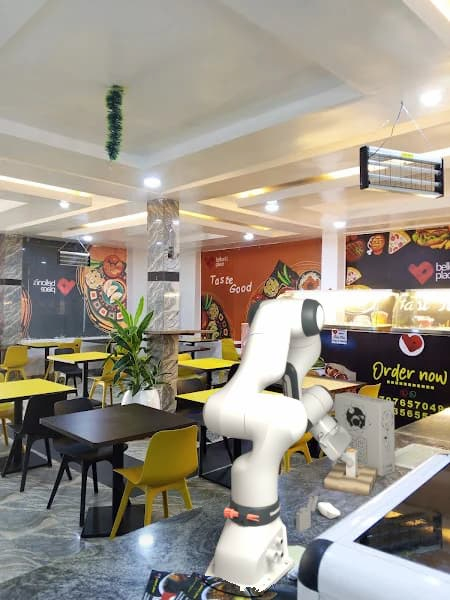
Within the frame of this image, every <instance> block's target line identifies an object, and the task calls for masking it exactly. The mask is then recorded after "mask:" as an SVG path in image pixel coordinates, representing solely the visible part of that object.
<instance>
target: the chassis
mask: <svg viewBox="0 0 450 600" xmlns="http://www.w3.org/2000/svg"><path fill="white" fill-rule="evenodd" d="M335 462H336V461H335ZM357 469H358V474H357V476H356V477H351V476H346V463H344V462H341V461H340V462H339V461H337V462H336V463H335V464H334V465H333V466H332V467H331V470H330V471H329V472H328V474H327V475H326V477H325V478H324V482H323V483H324V490H329V491H335V492H343V493H348V494H354V495H355V494H356V495H361V496H367V497H370V495H371V493H372V491H373V489H374V486H375V484H376V482H377V479H378V477H379V476H378V468H377V467H370V466H362V465H357Z"/></svg>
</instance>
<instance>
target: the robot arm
mask: <svg viewBox="0 0 450 600" xmlns="http://www.w3.org/2000/svg"><path fill="white" fill-rule="evenodd" d="M325 322H326V315H325V310H324V307H323V305H322V304H321V303H320V302H319V301H318V300H316V299H314V298H305V299H304V298H286V297H282V298H272V299H259V300H257V301H254V302H253V303H252V304H251V305H250V307H249V308H248V311H247V324H248V327H249V329H248V332H247V336H246V337H247V338H246V341H245V346H244V351H243V353H242V356H241V360H240V363H239V365H238V368H237V370H236V372H235V373H234V374H233V376H232V377H231V378H230V380H229V381H228V382H227V383H226V384H225V385H223V387H221V388H220V389H219V390H217V391H215V392H213V393H211V395H209V397H207V399H206V401H204V402H205V403H204V405H203V409H202V418H203V422H204V425H205V427H206V429H207V430H208V431H210V432H212V433H215V434H216V435H220V436H223V437H227V438H234V439H241V440H250V441H251V442H252V450H251V451H248V452H246V453H244V454H241V455H240V456H239V457H237V458H235V460H234V461H233V462H232V466H231V469H230V471H231V473H230V474H231V475H230V476H231V477H230V479H231V480H230V481H231V484H230V485H231V489H230V490H231V495H230V497H229V502H228V506H227V507H225V508H224V511H223V516H224V518H227V519H226V521H225V524H224V526H223V528H222V531H221V534H220V537H219V539H218V542H217V544H216V548H215V551H214V556H213V558H212V559H211V561H210V563H209V565H208V567H207V569H206V570H205V573H204V575H205V576H216V577H220V578H222V579H223V580H226V581H228V582H230V583H233V584H236V585H238V586H240V591H245V590H244V589H245V588H246V587H251V588H253V587H255V588H256V590H258V589H259V591H258V592H261V591H263V590H265V589H266V588H268V587H269V586H271V585H273V584H274V585H275V584H276V583H277V582H279V580H281V579H282V578H283V577H284V576H285V575H286V574H287V573H288V572H289V571H290V570H291V569H292V568H293V567H294V566H295V561H294V559H293V558H292V557H291V556H290V555H289V550H288V537H287V536H288V535H287V527H286V525H285V524H284V522H283V521H282V519H281V516H280V515H281V499H280V496H279V489H278V488H279V486H278V485H279V472H280V465H281V461H282V459H283V456H284V455H285V453H286V452H287V451H288V449H290V447H291V446H293V445H294V444H296V443H297V442H299V441H300V440H301V438H303V436H304V435H305V434H308V433H310V434H311V435H312V437H313V438H314V439H315V440H316V441H317V442H318V445H319V447H320V449H321V450H322V451H323V453H324V454H325V455H326V457H328V459H329V460H330V461H332V462H336V461H338V460H337V459H338V458H340V459H341V460H343V461H344V462H346V463H347V464H348V465H349V466H351V465H352V464H353V463H354V461H353V460H352V459H351V458H349V457H348V456H347V455H346V453H345V452H346V451H347V450H348V449H349V448H351V447H350V446H349V444H350V442H351V441H352V439H351V437H350V435H349V434H348V433H347V431H346V430H345V429H344V428H343V427H342V426H341V425H340V424H338V423H339V421H338V420H337V418H335V416H334V417H333V416H330V415H329V414H328V412H330V410H331V409H332V407H333V406H335V398H334V395H333V394H332V392H331V391H330V389H328V388H327V387H326V386H324V385H322V384H314V385H312V386H310V387H307V388H305V387H304V388H303V387H302V386H303V381H304V379H305V378H306V376H307V375H308V372H310V370H311V368H312V367H313V366H314V365H315V364H316V362H317V361H318V359H319V357H321V351H322V341H321V340H322V339H321V336H320V333H321V332H322V331H323V328H324V324H325ZM280 380H281V382H282V383H281V384H282V392H283V394H282V395H281V394H271V393H262V392H263V390H265V389H266V388H267V387H269V386H270V385H273V384H275V383H277V382H279V381H280ZM344 451H345V452H344ZM344 462H343V463H344ZM274 585H273V586H274ZM256 590H255V591H256Z"/></svg>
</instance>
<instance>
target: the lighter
mask: <svg viewBox="0 0 450 600" xmlns="http://www.w3.org/2000/svg"><path fill="white" fill-rule="evenodd" d="M318 500H319V496H318V495H316V494H314V493H310V495H309V500H308V502H307V505H306V507H305V506H303V507H300V508H299V511H298V512H295V530H296V531H298V532H300V533H301V532H303V531H306V530H308V529H310V528H311V527H312V522H311V521H312V515H311V512H313V513H315V510H316V506H317V505H318Z"/></svg>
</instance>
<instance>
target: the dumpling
mask: <svg viewBox="0 0 450 600" xmlns="http://www.w3.org/2000/svg"><path fill="white" fill-rule="evenodd" d="M317 509H318V510H319V512H320V513H321V514H322V516H324V517H326V518H328V519H329V520H331V519H332V520H333V519H335V518H337V517H339V516H340V515H341V510H339V509H337V508H336V507H335V506H334V505H332V504H331V503H330V502H324V501H323V502H322V501H319V502H317Z"/></svg>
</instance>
